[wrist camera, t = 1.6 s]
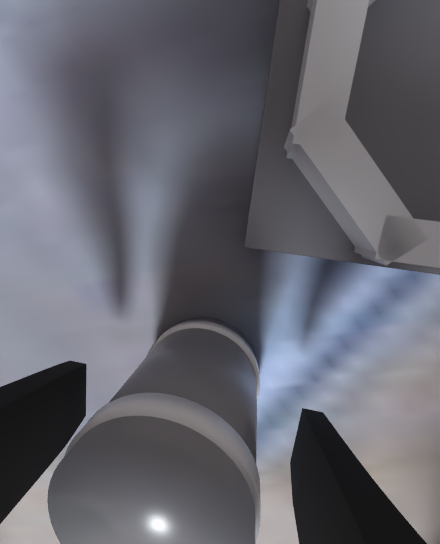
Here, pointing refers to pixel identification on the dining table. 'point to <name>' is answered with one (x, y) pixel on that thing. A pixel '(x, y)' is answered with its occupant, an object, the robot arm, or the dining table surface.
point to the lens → (169, 449)
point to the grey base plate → (352, 135)
